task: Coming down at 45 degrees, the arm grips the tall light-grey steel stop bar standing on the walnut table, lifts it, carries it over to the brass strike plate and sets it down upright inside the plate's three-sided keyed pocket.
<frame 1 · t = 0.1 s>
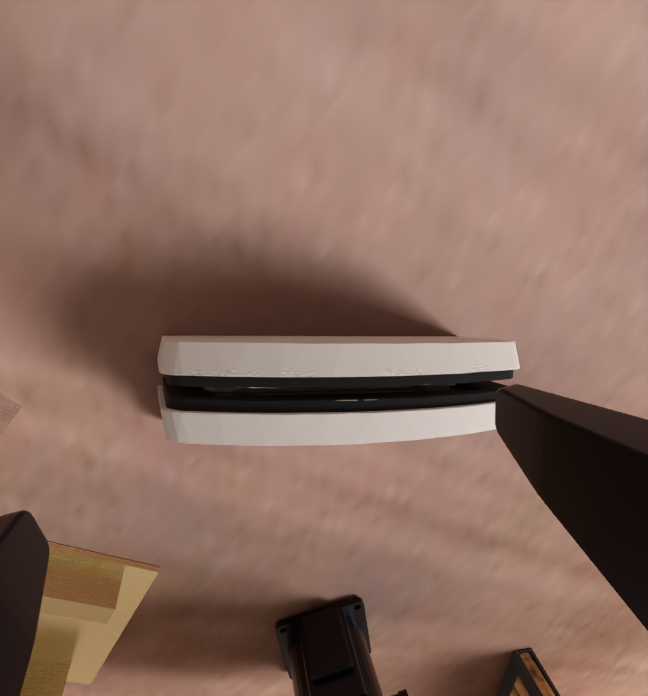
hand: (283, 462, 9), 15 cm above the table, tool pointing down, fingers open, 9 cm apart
ammunition clip: (506, 683, 43), on the table
white rounded housing: (318, 352, 25), on the table
strike pocket: (23, 607, 27), on the table
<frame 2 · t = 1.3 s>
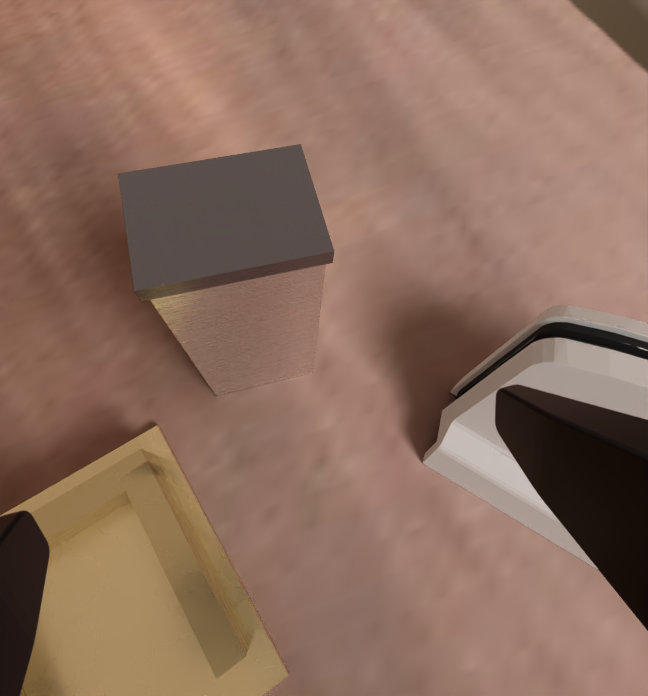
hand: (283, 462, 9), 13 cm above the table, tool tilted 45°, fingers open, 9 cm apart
stop bar: (258, 352, 23), on the table
white rounded housing: (595, 481, 22), on the table
strike pocket: (106, 614, 19), on the table
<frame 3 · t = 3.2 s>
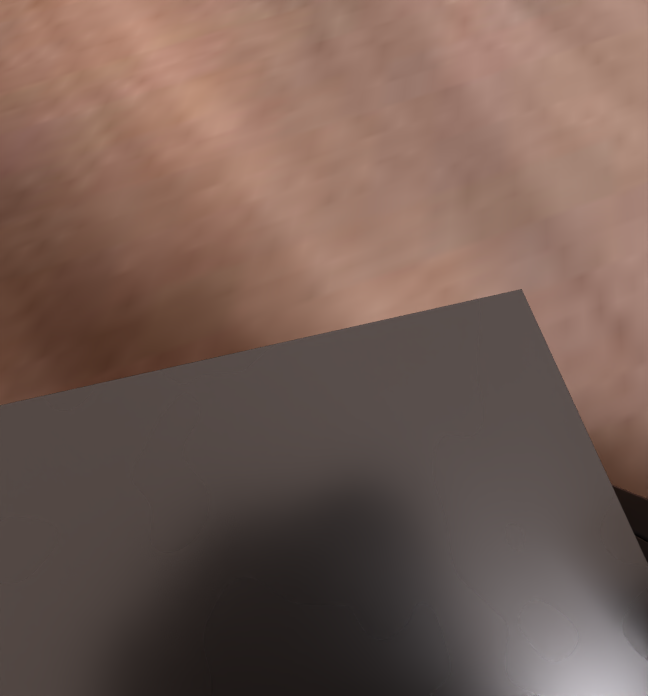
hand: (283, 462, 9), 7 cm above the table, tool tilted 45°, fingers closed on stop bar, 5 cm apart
stop bar: (299, 528, 14), on the table, touching gripper
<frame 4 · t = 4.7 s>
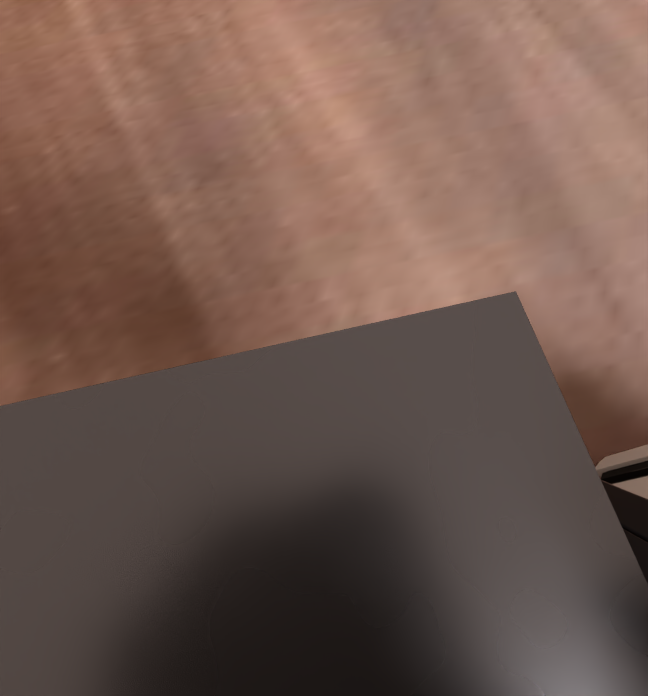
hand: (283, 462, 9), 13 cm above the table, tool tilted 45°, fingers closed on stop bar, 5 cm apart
stop bar: (299, 525, 14), point 7 cm above the table, touching gripper
when the fingers open (7 cm above the table, at t = 6.6 s): stop bar stays where it is, resting on strike pocket.
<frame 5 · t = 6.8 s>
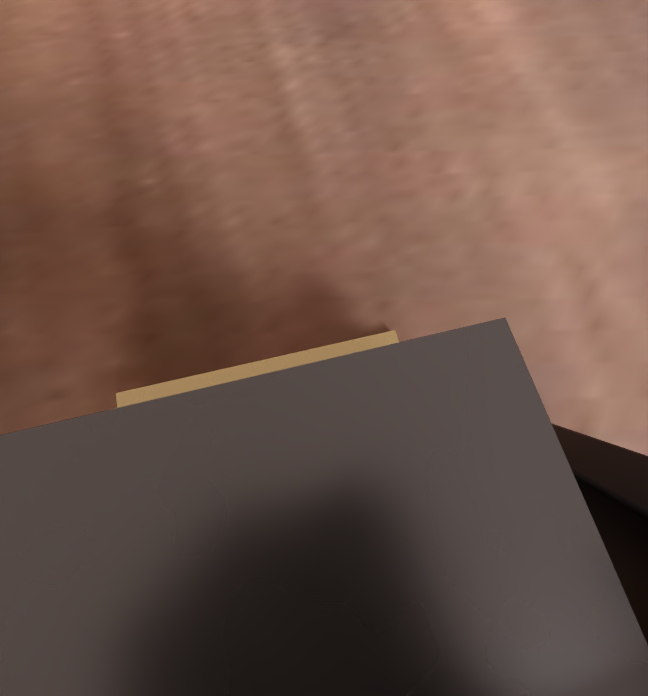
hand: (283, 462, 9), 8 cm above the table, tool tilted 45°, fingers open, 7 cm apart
stop bar: (300, 529, 15), resting on strike pocket
strike pocket: (299, 526, 15), on the table
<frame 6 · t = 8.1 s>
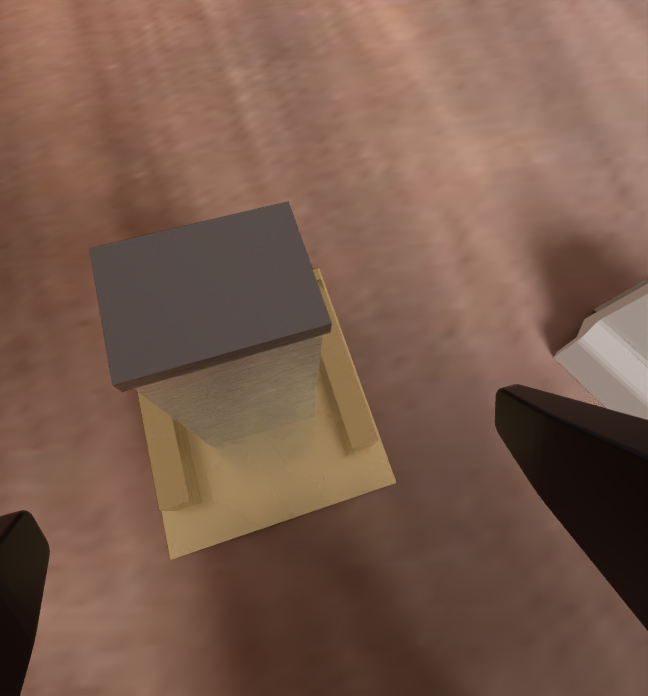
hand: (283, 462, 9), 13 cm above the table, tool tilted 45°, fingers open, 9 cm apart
stop bar: (255, 398, 22), resting on strike pocket
strike pocket: (254, 398, 22), on the table
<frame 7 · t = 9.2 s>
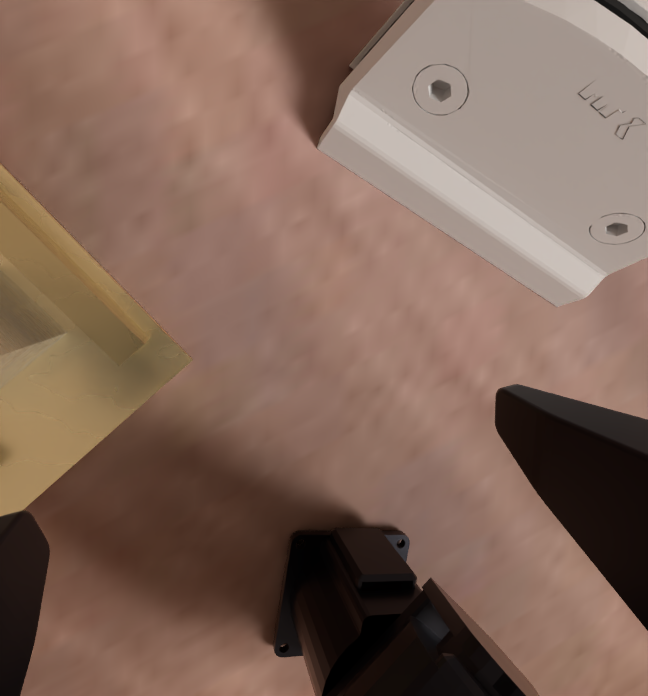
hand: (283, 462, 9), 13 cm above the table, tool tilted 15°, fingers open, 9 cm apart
white rounded housing: (478, 170, 23), on the table
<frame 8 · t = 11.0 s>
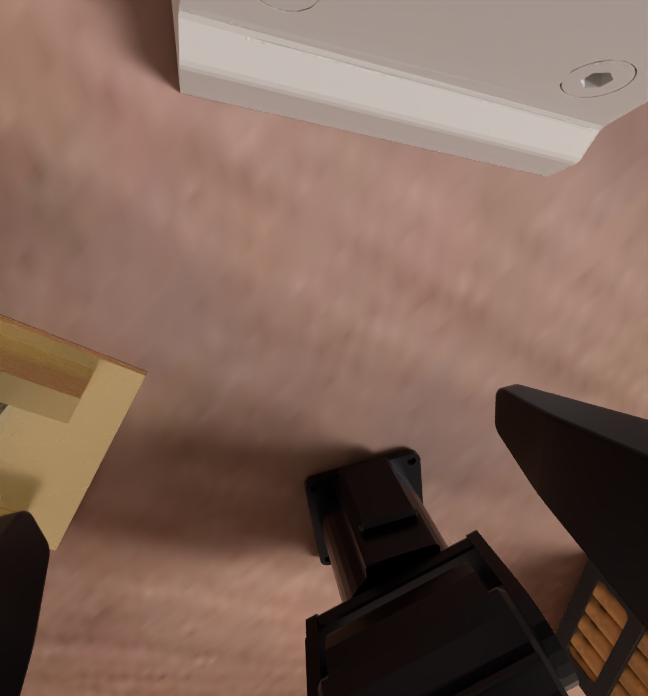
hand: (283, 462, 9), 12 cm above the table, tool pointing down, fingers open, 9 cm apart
ammunition clip: (578, 596, 35), on the table
white rounded housing: (405, 29, 17), on the table
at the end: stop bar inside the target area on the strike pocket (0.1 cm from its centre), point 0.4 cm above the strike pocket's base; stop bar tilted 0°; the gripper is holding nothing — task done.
